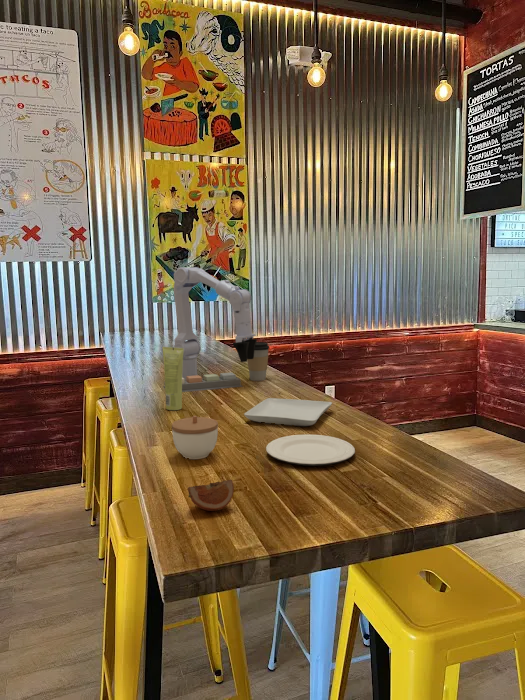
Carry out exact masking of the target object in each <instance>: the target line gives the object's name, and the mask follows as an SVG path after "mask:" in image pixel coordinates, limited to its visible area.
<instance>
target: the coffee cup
mask: <svg viewBox="0 0 525 700" xmlns="http://www.w3.org/2000/svg"><path fill="white" fill-rule="evenodd" d="M270 349H271V348H270V346H269V343H268V342H263V341H257V342H256V345H255V349H254V358H253V359H247V368H248V375H249V380H250V381H255V382H262V381H265V380H267V379H266V378H267V370H268V363H269V362H268V361H269V350H270Z"/></svg>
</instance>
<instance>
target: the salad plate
mask: <svg viewBox="0 0 525 700" xmlns="http://www.w3.org/2000/svg"><path fill="white" fill-rule="evenodd" d="M332 405H333V402H332V401H325V400H324V401H322V400H310V399H309V400H307V399H298V398H297V399H294V398H293V399H291V398H277V397H276V398H275V397H268V398H267V397H266V399H264V400H262V401H261V402H259V403H258V404H256V405H254V406H253V407H252V408H250V409H248V410H247V411H246V412H244V413H243V415H244V416H245V418H246V419H248V420H250V421H252V422H257V423H261V422H265V423H264V424H271V423H275V424H274V425H281V424H284V426H292V425H294V426H295V427H309V426H313V425H315V424H316V423H317V421H318V420H319V418H321V416H322V415H323V414H324V413H325V412H327V410H329V408H330V407H331V406H332Z"/></svg>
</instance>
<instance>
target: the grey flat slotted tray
mask: <svg viewBox="0 0 525 700" xmlns="http://www.w3.org/2000/svg"><path fill="white" fill-rule="evenodd" d="M241 382H242V380H241V378H240V377H237V376H236V379H232V380H222V379H220V376H219V381H209V382H206V381H204V380H203V377H202V382H197V383H188V382H187V381H186V380H185V384H182V393H186V392H187V393H188V392H198V391H199V392H200V391H208V390H219V389H229V388H231V389H232V388H233V389H234V388H241V387H242V388H243V387H244V386H243V385H242V383H241ZM163 384H164V385H162V387H163V389H165V381H164V382H163Z"/></svg>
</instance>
